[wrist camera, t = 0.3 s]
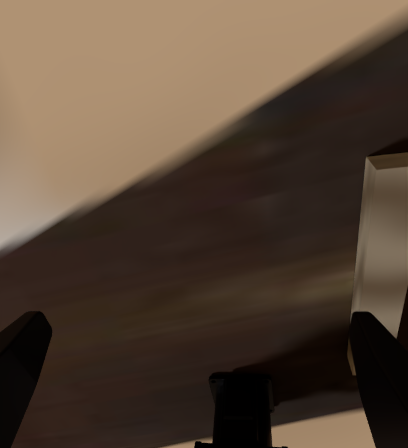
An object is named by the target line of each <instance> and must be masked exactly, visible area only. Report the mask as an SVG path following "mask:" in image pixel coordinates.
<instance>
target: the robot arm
mask: <svg viewBox="0 0 408 448" xmlns="http://www.w3.org/2000/svg"><path fill="white" fill-rule="evenodd" d="M51 337H52V328H51V326H50V324H49V322H48V321H47V319H46V317H45V316H44V314H43V313H42V312H40V311H29V312H26V313H24V314H23V315H22V316H20V317H19V318H18V319H17V320H15V321H14V322H13V323H11V324H10V325H9V326H7V327H6V328H5V329H4V330H2V331H1V332H0V448H11V446H12V443H13V441H14V439H15V436H16V434H17V431H18V429H19V426H20V424H21V422H22V419H23V417H24V414H25V412H26V410H27V407H28V405H29V402H30V400H31V397H32V395H33V393H34V390H35V387H36V385H37V382H38V379H39V376H40V373H41V369H42V366H43V363H44V360H45V356H46V353H47V350H48V346H49V343H50V340H51ZM349 341H350V346H351V351H352V357H353V362H354V367H355V372H356V378H357V383H358V388H359V393H360V397H361V401H362V404H363V408H364V411H365V414H366V417H367V420H368V424H369V427H370V430H371V433H372V437H373V440H374V443H375V446H376V448H408V350H407V349H406V348H405V347H404V346H403V345H402V344H401V343H400V342H399V341H398V340H397V339H396V338H395V337H394V336H393V335H392V334H391V333H390V332H389V331H388V330H387V329H386V328H385V326H384V325H383V324H382V323H381V322H380V321H379V320H378V319H377V318H376V317H375V316H374V315H373V314H372V313H370V312H368V311H355V312H353V314H352V318H351V322H350V327H349ZM209 384H210V388H211V392H212V395H213V399H214V403H215V415H214V428H213V441H212V443H201V442H200V441H196V442H195V446H194V448H288V447H284V446H282V447H272V436H271V418H270V413H273V412H274V400H273V390H272V380H271V377H270V376H268V375H212V376H210V377H209Z"/></svg>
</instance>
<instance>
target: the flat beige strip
mask: <svg viewBox="0 0 408 448" xmlns="http://www.w3.org/2000/svg"><path fill="white" fill-rule="evenodd" d="M407 287H408V152H406V153H397V154H388V155H379V156H370V157H366V164H365V174H364V185H363V195H362V205H361V216H360V226H359V237H358V247H357V257H356V268H355V278H354V289H353V299H352V309H351V318H352V314H353V312H355V311H368V312H370V313H372V314H373V315H374V316H375V317H376V318H377V319H378V320H379V321H380V322H381V323H382V324H383V325H384V326H385V328H386V329H387V330H388V331H389V332H390V333H391V334H392V335H393V336H394V337H395V338H396V339H397V334H398V329H399V324H400V320H401V315H402V310H403V305H404V301H405V296H406V291H407ZM350 322H351V320H350ZM347 357H348V361H349V364H350V368H351V371H352V375H356V372H355V367H354V362H353V357H352V351H351V346H350V341H348V351H347Z"/></svg>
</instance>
